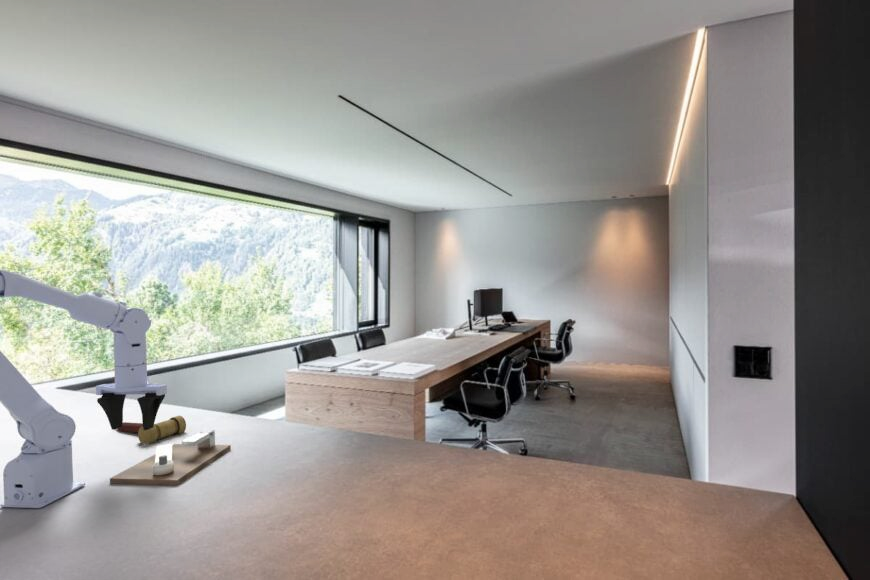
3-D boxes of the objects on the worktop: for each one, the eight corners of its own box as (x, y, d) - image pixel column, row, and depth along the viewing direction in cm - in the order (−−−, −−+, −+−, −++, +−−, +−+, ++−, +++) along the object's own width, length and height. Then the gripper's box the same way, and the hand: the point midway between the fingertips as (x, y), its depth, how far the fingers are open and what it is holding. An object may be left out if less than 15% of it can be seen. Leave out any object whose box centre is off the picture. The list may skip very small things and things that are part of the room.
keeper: (195, 457, 100) (194, 441, 100) (182, 457, 100) (181, 441, 100) (215, 445, 107) (214, 430, 107) (202, 445, 108) (202, 430, 107)
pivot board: (177, 485, 88) (177, 480, 88) (109, 483, 90) (109, 478, 90) (230, 449, 107) (230, 445, 107) (174, 448, 109) (174, 444, 109)
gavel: (96, 423, 120) (134, 413, 129) (97, 441, 120) (135, 429, 129) (149, 427, 112) (186, 415, 121) (150, 445, 112) (187, 433, 121)
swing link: (173, 473, 91) (173, 457, 91) (152, 477, 89) (152, 461, 89) (174, 451, 104) (173, 437, 104) (155, 454, 102) (155, 440, 102)
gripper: (175, 361, 100) (177, 422, 101) (113, 361, 102) (115, 422, 102) (152, 367, 93) (154, 433, 94) (86, 367, 95) (88, 432, 95)
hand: (132, 428), depth 97 cm, fingers open, 7 cm apart
